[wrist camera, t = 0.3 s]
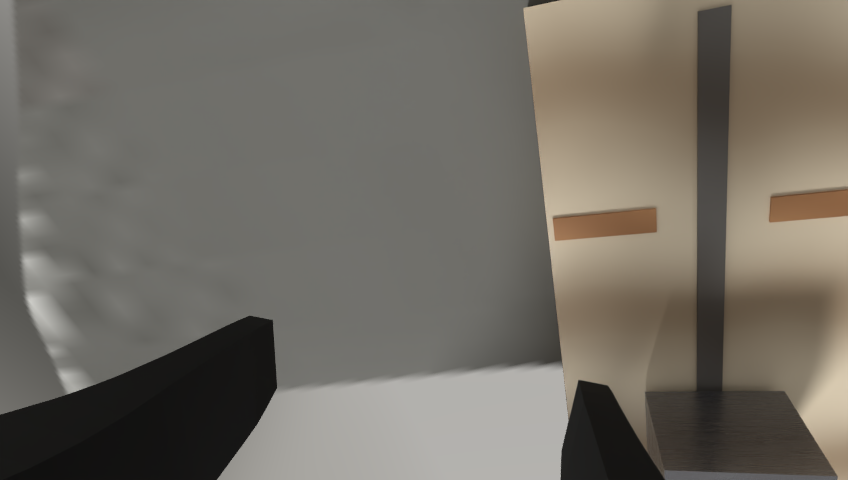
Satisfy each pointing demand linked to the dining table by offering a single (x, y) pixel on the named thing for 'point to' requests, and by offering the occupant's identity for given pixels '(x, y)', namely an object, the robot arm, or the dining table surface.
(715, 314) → the board
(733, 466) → the fader tab
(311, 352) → the dining table surface
